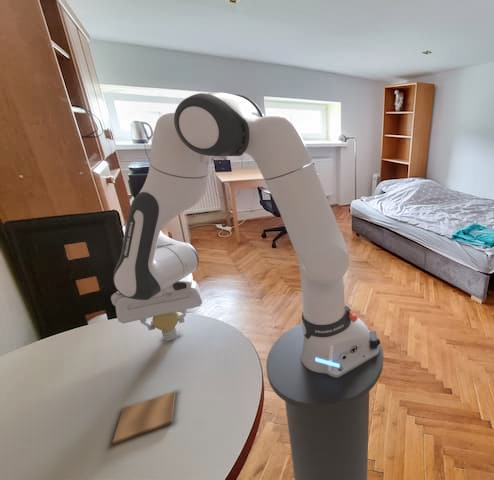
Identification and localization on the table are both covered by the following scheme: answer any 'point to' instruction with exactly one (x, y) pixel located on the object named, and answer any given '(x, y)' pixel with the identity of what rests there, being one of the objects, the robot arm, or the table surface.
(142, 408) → the wooden board
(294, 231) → the robot arm
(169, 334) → the light bulb
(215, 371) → the table surface
